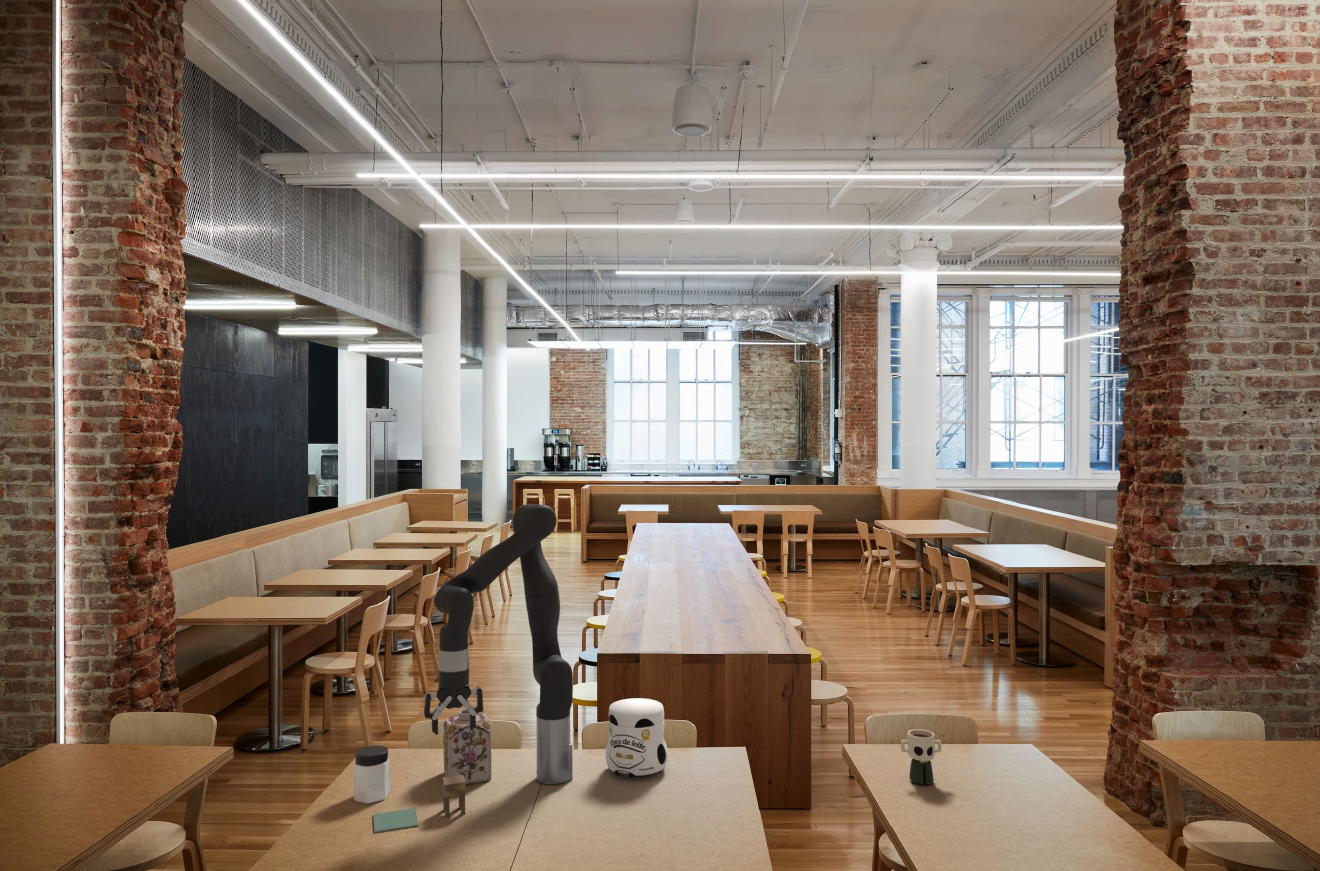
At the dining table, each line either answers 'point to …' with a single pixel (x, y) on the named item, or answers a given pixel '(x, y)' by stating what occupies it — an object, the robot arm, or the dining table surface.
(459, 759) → the decorative jar
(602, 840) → the dining table surface
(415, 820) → the mat
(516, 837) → the dining table surface
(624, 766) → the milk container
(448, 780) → the pronged tan cube
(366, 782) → the jar
